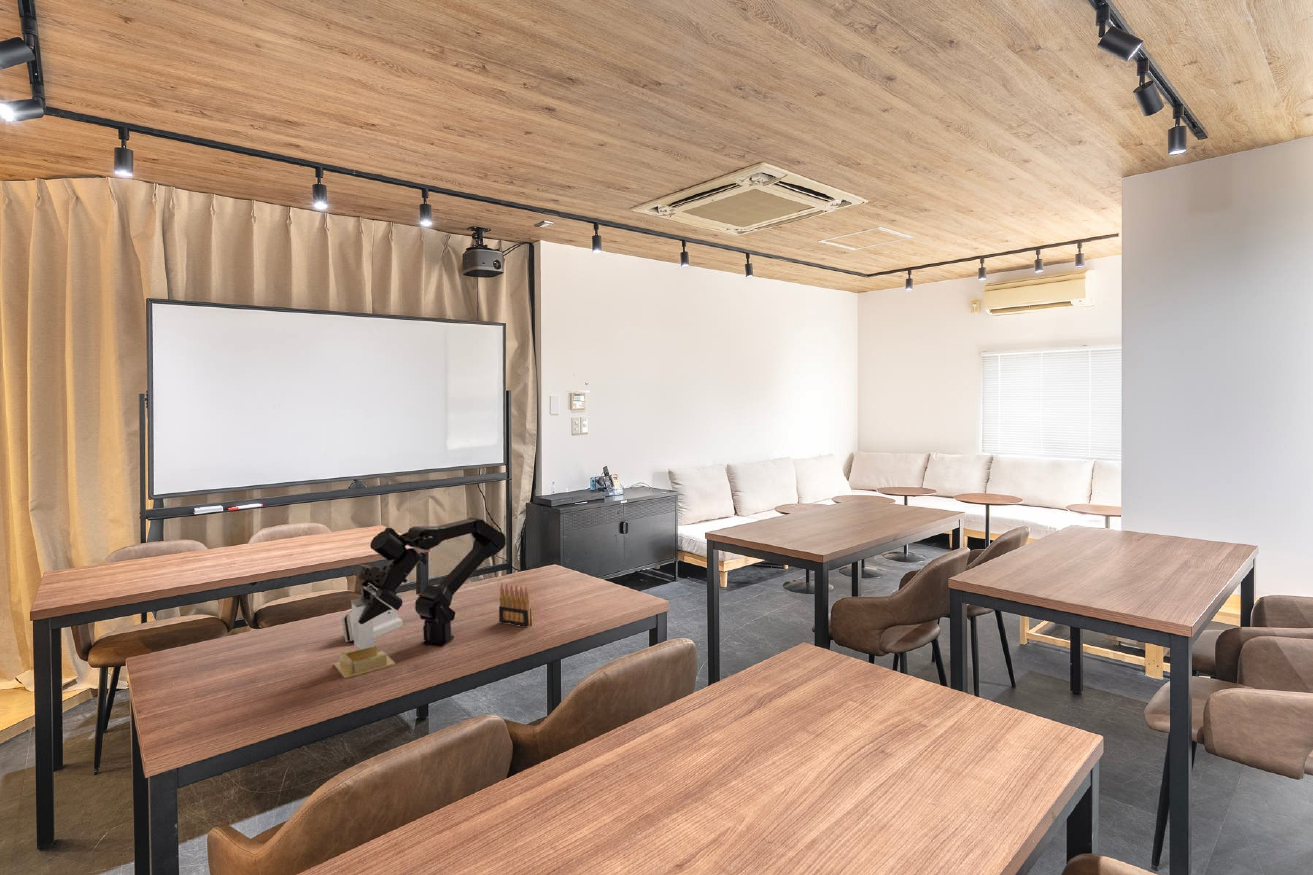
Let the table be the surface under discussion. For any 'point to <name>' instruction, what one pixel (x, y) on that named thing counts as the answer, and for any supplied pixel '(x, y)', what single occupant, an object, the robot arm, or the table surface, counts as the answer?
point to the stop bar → (362, 631)
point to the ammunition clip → (514, 606)
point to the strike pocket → (362, 661)
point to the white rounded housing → (374, 624)
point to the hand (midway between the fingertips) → (356, 620)
